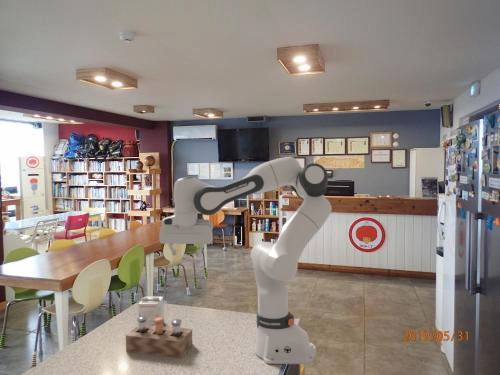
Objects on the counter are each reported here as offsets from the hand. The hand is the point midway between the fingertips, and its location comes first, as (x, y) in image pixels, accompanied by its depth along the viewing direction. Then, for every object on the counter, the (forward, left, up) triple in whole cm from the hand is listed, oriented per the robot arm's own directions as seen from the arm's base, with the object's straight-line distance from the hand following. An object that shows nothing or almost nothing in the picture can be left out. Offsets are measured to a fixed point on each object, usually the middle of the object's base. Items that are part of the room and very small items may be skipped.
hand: (186, 255), depth 139 cm
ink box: (+20, -9, -34) cm, 41 cm away
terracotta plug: (+8, +7, -29) cm, 31 cm away
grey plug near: (+1, +7, -29) cm, 30 cm away
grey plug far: (+15, +7, -29) cm, 34 cm away
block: (+8, +7, -34) cm, 36 cm away
